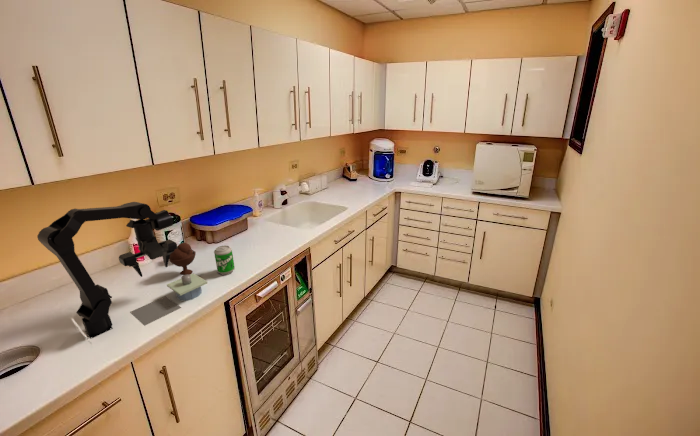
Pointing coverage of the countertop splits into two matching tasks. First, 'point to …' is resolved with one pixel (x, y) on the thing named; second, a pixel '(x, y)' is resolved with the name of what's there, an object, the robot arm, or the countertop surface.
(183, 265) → the ice cream bowl
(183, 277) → the cover
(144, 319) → the rubber mat
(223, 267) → the soda can
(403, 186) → the countertop surface
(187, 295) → the bowl
